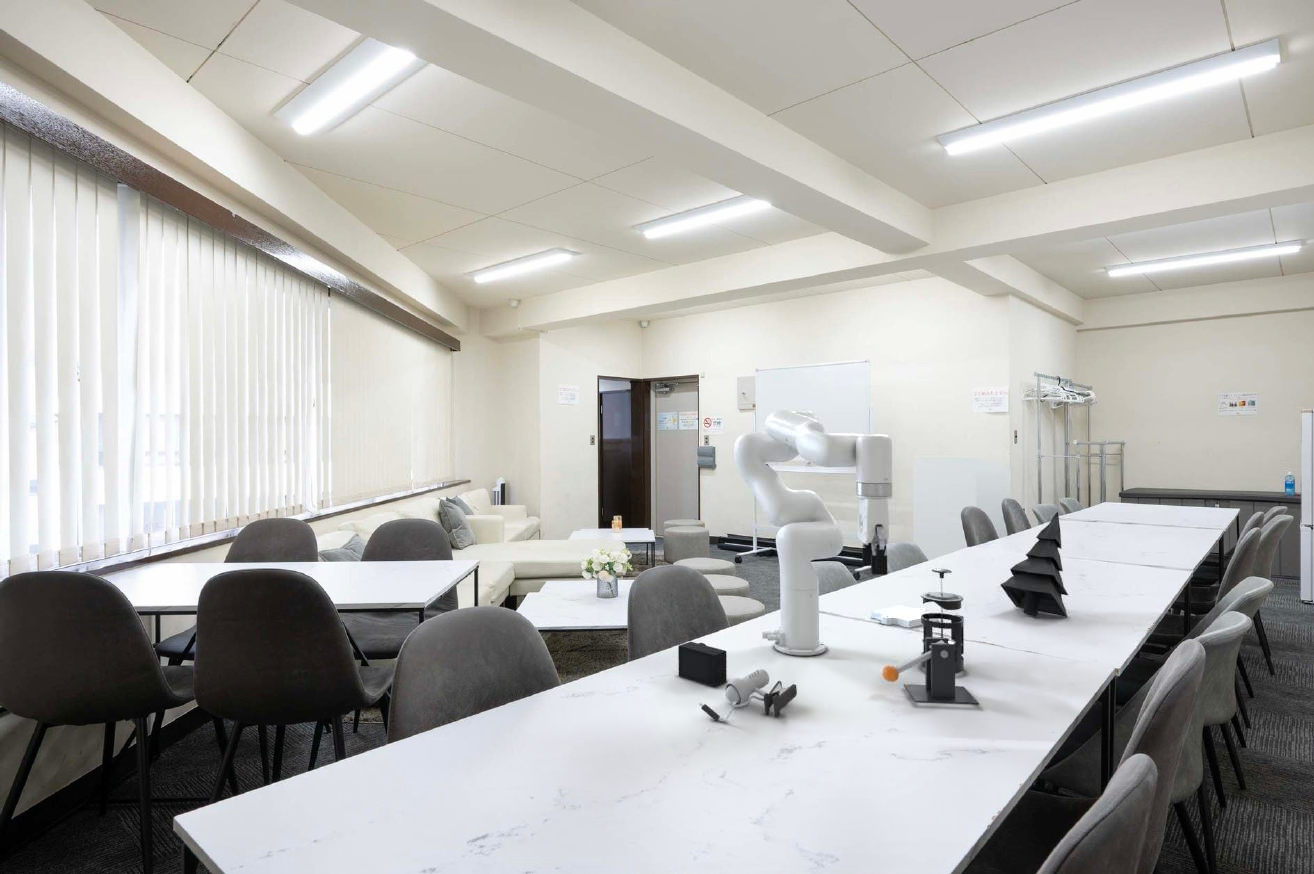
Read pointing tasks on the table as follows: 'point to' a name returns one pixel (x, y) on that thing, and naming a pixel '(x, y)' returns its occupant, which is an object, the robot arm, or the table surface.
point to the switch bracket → (940, 676)
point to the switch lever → (904, 666)
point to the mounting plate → (901, 616)
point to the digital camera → (702, 663)
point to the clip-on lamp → (752, 683)
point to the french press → (957, 621)
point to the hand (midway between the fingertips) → (874, 569)
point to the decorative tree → (1039, 576)
